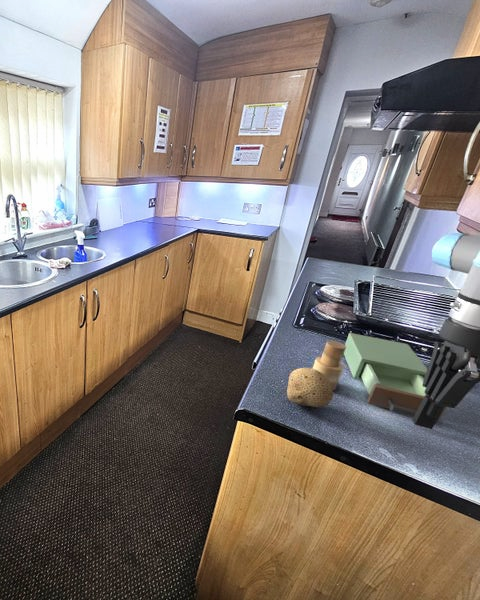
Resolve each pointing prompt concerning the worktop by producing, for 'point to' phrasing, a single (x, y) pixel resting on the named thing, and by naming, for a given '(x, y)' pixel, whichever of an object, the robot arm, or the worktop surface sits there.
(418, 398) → the drawer
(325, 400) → the natural sponge
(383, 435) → the worktop surface
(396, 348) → the cabinet
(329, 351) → the stepped wooden peg
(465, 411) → the worktop surface
